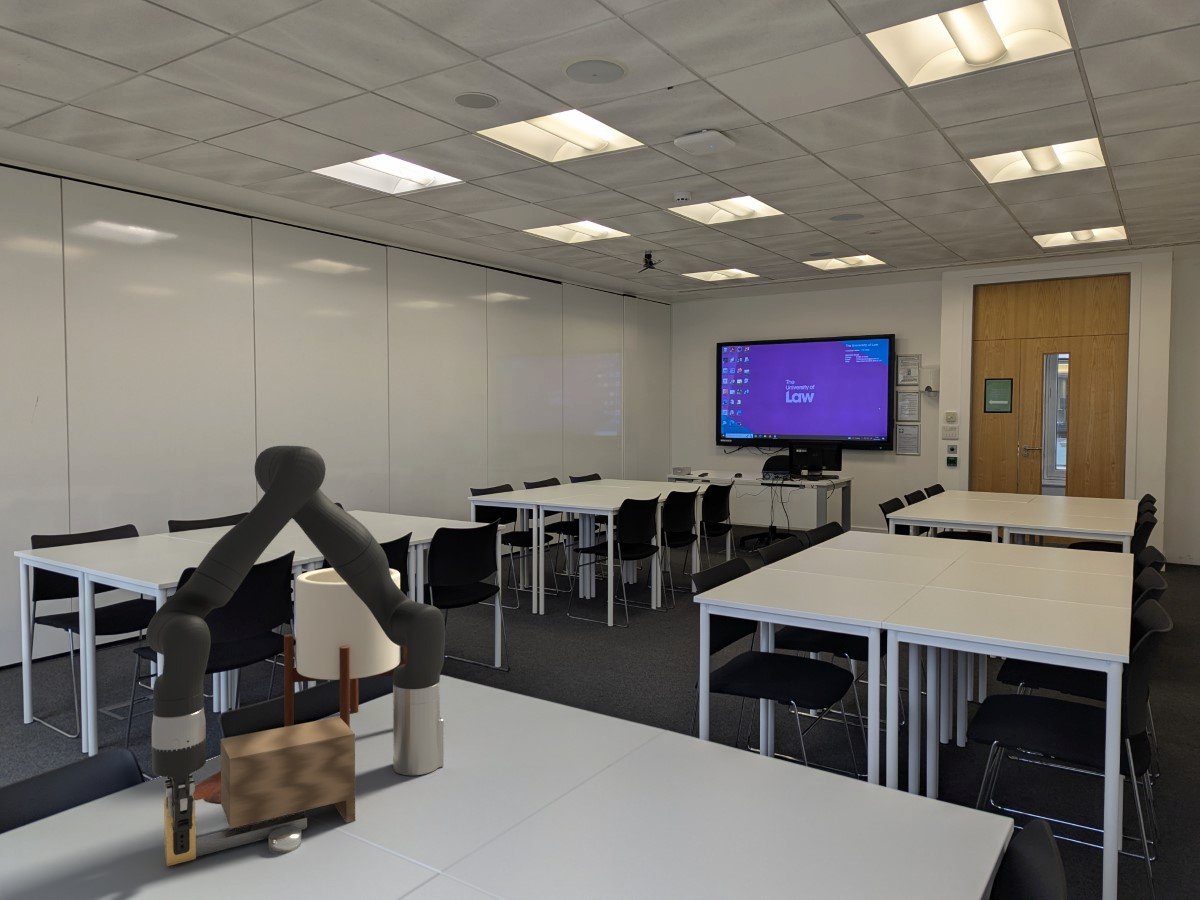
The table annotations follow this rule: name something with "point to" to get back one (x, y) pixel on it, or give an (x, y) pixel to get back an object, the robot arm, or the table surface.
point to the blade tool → (224, 835)
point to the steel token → (284, 840)
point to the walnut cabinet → (288, 771)
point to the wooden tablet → (209, 789)
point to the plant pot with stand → (335, 640)
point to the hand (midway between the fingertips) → (180, 845)
